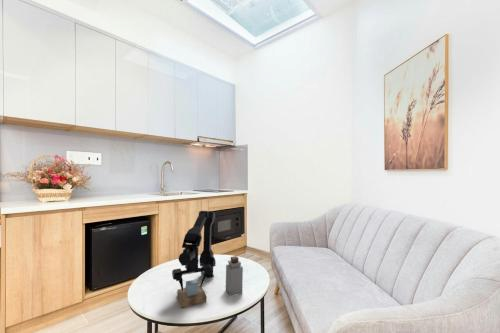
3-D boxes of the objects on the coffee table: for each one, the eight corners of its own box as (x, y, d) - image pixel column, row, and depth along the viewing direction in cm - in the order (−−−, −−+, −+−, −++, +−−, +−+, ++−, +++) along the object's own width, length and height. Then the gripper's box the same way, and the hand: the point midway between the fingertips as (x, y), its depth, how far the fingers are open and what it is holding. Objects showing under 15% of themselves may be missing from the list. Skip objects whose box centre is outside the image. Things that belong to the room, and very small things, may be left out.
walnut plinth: (200, 290, 121) (200, 284, 121) (206, 302, 110) (206, 296, 110) (177, 295, 116) (177, 289, 116) (181, 308, 105) (181, 301, 105)
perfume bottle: (230, 296, 116) (231, 260, 116) (225, 290, 122) (226, 256, 122) (242, 293, 119) (242, 258, 120) (237, 287, 125) (237, 254, 126)
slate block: (195, 289, 116) (195, 279, 116) (197, 294, 112) (198, 283, 112) (185, 291, 114) (186, 281, 114) (187, 296, 109) (187, 285, 110)
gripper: (206, 249, 125) (206, 278, 124) (171, 254, 117) (170, 285, 116) (212, 256, 115) (211, 287, 114) (173, 262, 107) (173, 295, 106)
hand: (191, 288), depth 113 cm, fingers open, 9 cm apart
